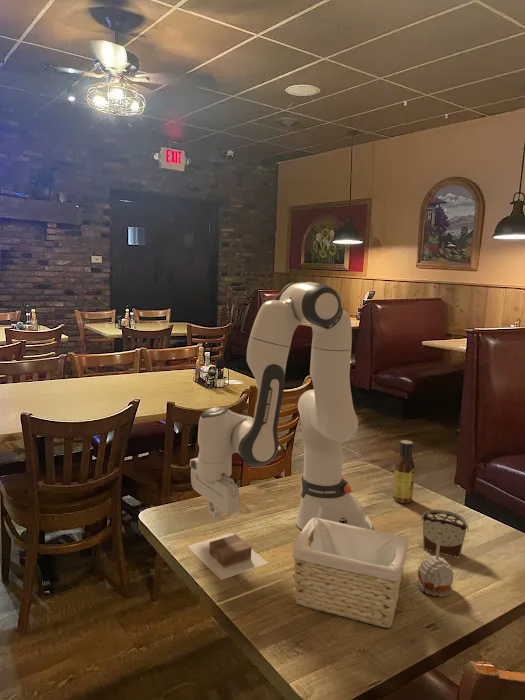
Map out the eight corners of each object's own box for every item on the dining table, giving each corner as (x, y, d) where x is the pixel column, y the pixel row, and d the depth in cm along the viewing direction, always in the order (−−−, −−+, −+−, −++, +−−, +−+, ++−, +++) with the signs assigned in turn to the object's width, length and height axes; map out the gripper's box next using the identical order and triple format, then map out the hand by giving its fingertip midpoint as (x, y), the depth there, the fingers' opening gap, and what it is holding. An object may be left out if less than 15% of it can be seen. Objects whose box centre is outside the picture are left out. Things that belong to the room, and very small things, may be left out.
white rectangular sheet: (186, 547, 146) (186, 545, 146) (231, 533, 154) (231, 532, 153) (221, 581, 131) (221, 579, 131) (268, 564, 139) (268, 563, 139)
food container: (467, 549, 151) (471, 515, 149) (465, 559, 145) (469, 524, 144) (421, 537, 156) (424, 505, 154) (417, 547, 150) (421, 513, 149)
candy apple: (438, 577, 137) (444, 521, 134) (457, 596, 129) (464, 537, 127) (411, 581, 135) (416, 524, 132) (428, 600, 127) (434, 540, 125)
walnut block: (209, 542, 141) (224, 555, 135) (235, 534, 146) (251, 547, 140) (209, 554, 142) (224, 568, 136) (235, 546, 146) (250, 559, 140)
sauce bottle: (414, 504, 177) (419, 446, 174) (394, 503, 177) (400, 445, 174) (409, 496, 183) (414, 439, 180) (390, 495, 183) (395, 438, 180)
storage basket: (286, 605, 123) (290, 545, 121) (308, 568, 138) (311, 514, 136) (394, 636, 115) (400, 571, 112) (404, 593, 130) (410, 535, 127)
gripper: (246, 478, 139) (245, 529, 141) (206, 453, 155) (206, 499, 158) (224, 484, 135) (224, 536, 138) (186, 458, 152) (187, 505, 154)
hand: (214, 516), depth 148 cm, fingers closed
